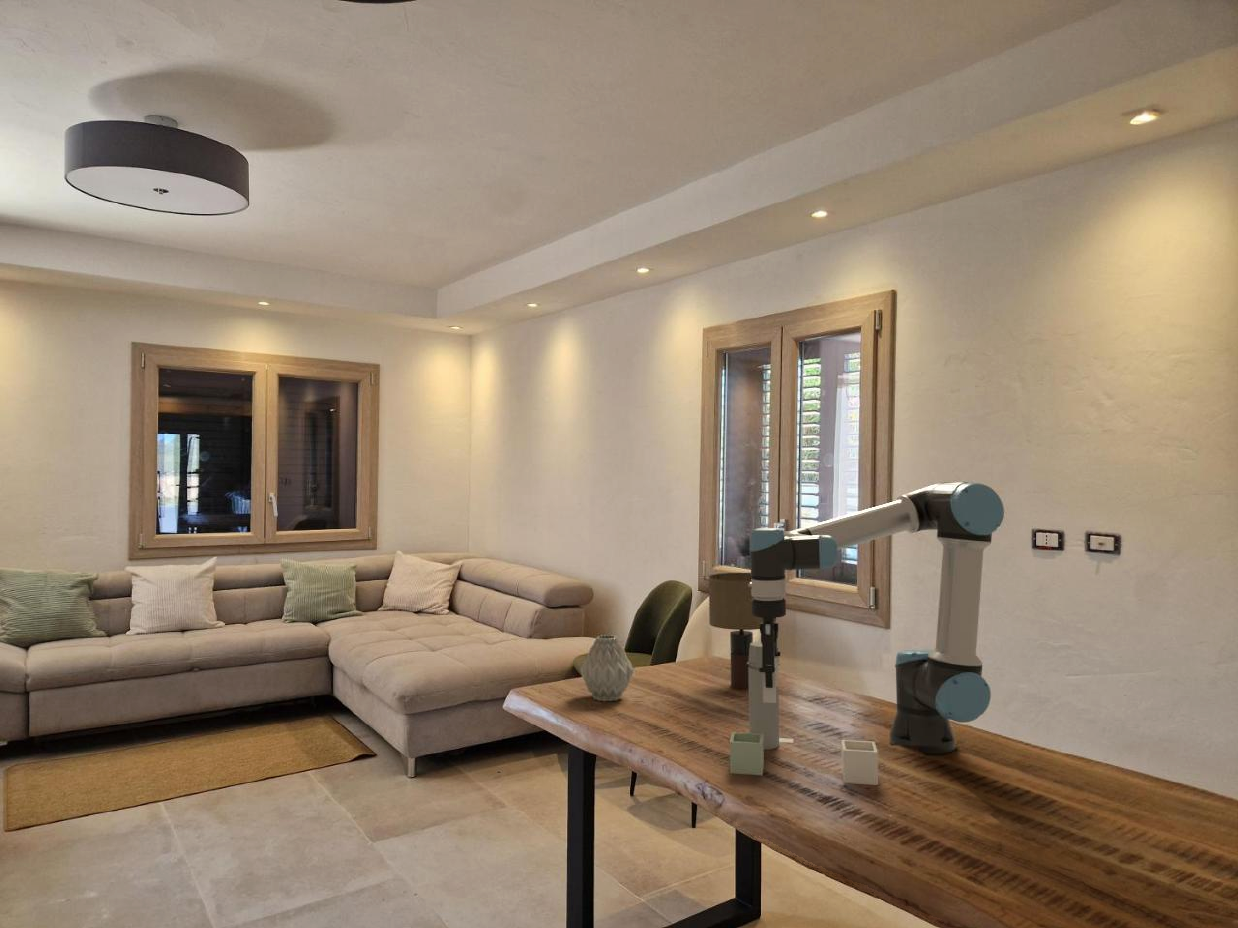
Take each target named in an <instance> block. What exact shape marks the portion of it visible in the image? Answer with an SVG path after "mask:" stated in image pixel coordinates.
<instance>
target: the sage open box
mask: <svg viewBox="0 0 1238 928" xmlns="http://www.w3.org/2000/svg"><path fill="white" fill-rule="evenodd" d="M764 754H765V753H764V738H763V734H756V733H749V732H735V731H734V732H733V731H732V732H731V736H730V740H729V761H730V762H729V763H730V764H729V769H730V770H729V773H730V774H734V775H735V774H737V775H751V776H764V775H763V774H764V767H765V766H764V765H765V764H764V763H765V760H764V759H765V757H764V756H765V755H764Z"/></svg>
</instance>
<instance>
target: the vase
mask: <svg viewBox="0 0 1238 928" xmlns="http://www.w3.org/2000/svg"><path fill="white" fill-rule="evenodd" d="M586 656H587V657H586V659H585V660H584V662H583V664H582V666H581V667H580V669H579V672H580V674H581V676H582V679H583V681H584V683H585V686H586V688H587V690H588V692H589V693H591V694H592V698H593V699H594V700H596V701H598V702H601V701H602V702H612V701H618V700H620V699H622V696H623V693H624V692H626V690H627V688H628V687H629V683H630V681H631V679H632V677H633V674H634V670H635V669H634V667H633V664H632V662H631V661H630V660H629V659H628V656H627V653H626V651H625V648H624V647H623V646H622V644H621V642H620V640H619V638H618V636H616V635H612V634H610V635H609V634H604V635H602V634H601V635H597V636H596V637H595V640H594V642H593V644H592V645H591V647H590V648H589V650H588V654H587V655H586Z"/></svg>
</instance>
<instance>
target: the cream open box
mask: <svg viewBox="0 0 1238 928" xmlns="http://www.w3.org/2000/svg"><path fill="white" fill-rule="evenodd" d="M840 742H841V774H842V779H843V780H842V781H843V784H856V785H857V784H858V785H869V786H871V785H872V786H879V763H878V762H879V758H878V757H879V755H878V754H879V751H878V749H877V745H876V742H875V741H869V740H868V741H867V740H853V739H852V740H851V739H841V741H840Z"/></svg>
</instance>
